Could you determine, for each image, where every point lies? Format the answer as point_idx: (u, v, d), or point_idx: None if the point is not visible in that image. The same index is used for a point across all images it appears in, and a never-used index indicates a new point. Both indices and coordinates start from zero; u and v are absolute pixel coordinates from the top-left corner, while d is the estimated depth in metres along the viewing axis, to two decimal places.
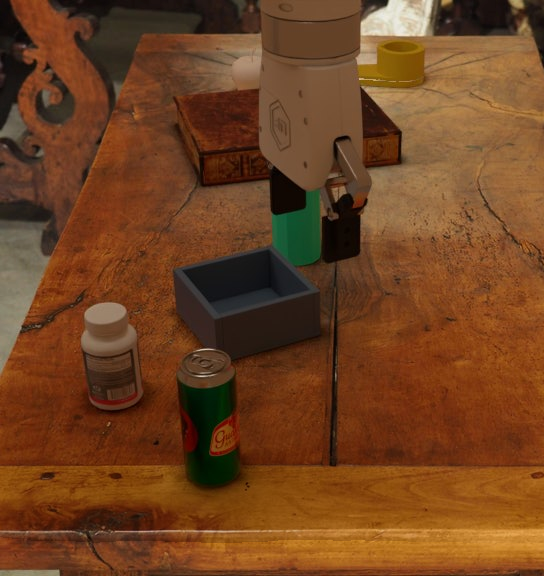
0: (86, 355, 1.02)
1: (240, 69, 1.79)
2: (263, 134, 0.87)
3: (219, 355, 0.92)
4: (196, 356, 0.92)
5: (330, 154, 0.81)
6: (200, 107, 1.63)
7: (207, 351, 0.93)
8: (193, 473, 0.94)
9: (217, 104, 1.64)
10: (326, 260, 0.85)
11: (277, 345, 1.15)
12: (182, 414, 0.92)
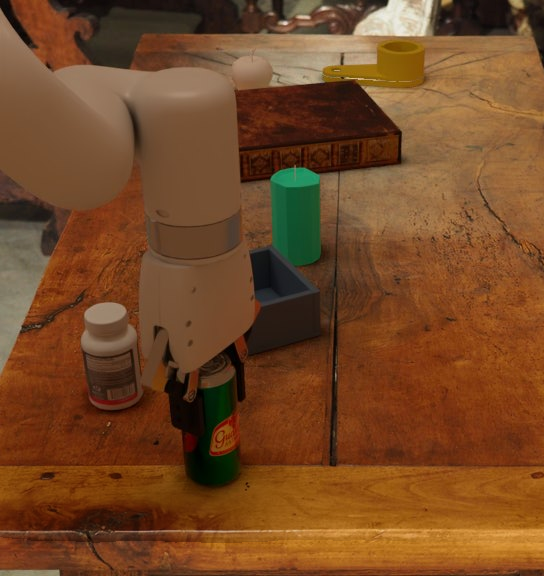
0: (86, 355, 1.02)
1: (240, 69, 1.79)
2: None
3: (219, 355, 0.92)
4: None
5: (151, 336, 0.85)
6: None
7: None
8: (193, 473, 0.94)
9: None
10: (172, 423, 0.92)
11: (277, 345, 1.15)
12: None
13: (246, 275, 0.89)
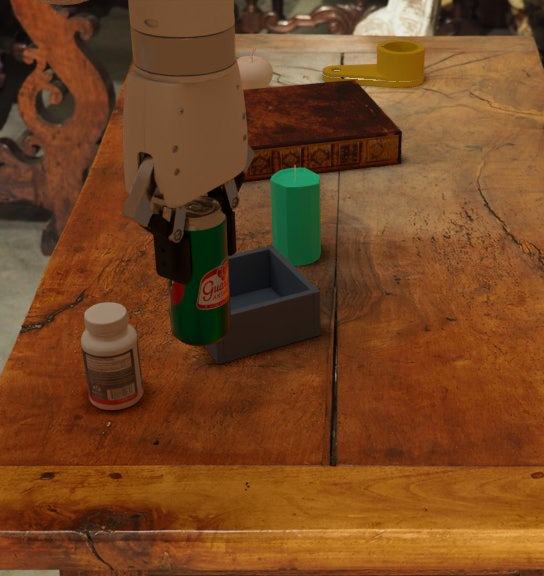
0: (86, 354, 1.02)
1: (240, 69, 1.79)
2: None
3: (209, 200, 0.86)
4: None
5: (135, 165, 0.80)
6: None
7: None
8: (179, 329, 0.89)
9: None
10: (157, 271, 0.86)
11: (277, 345, 1.15)
12: None
13: (239, 109, 0.83)
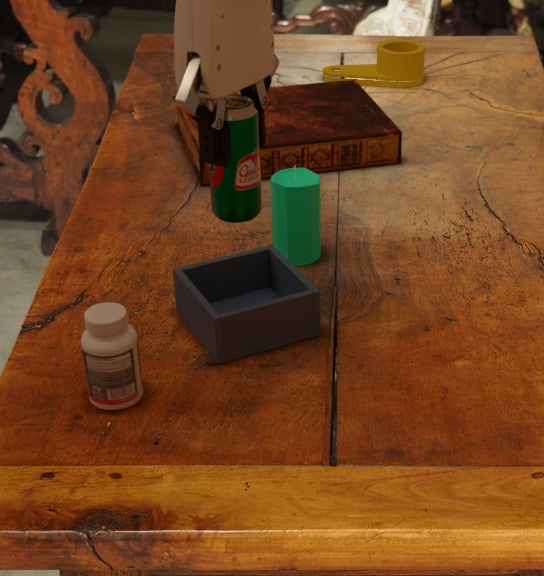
0: (86, 354, 1.02)
1: None
2: None
3: (243, 98, 1.04)
4: None
5: (184, 63, 0.97)
6: None
7: (232, 96, 1.05)
8: (219, 208, 1.06)
9: None
10: (201, 158, 1.04)
11: (277, 345, 1.15)
12: None
13: (267, 20, 1.01)
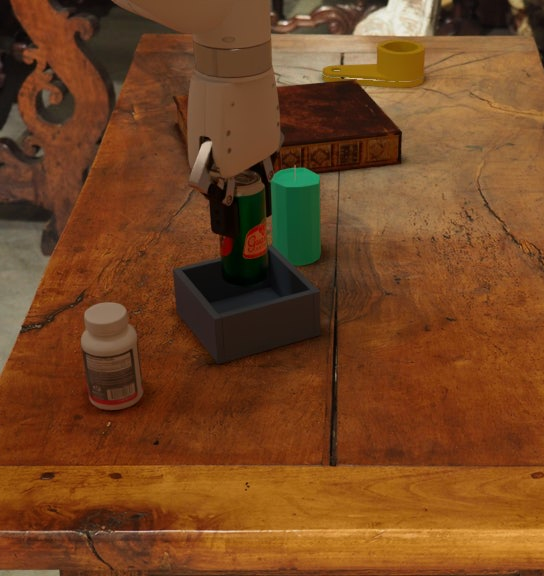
0: (86, 354, 1.02)
1: None
2: None
3: (251, 173, 1.11)
4: None
5: (197, 146, 1.04)
6: None
7: None
8: (228, 275, 1.14)
9: None
10: (212, 229, 1.11)
11: (277, 345, 1.15)
12: None
13: (274, 102, 1.08)
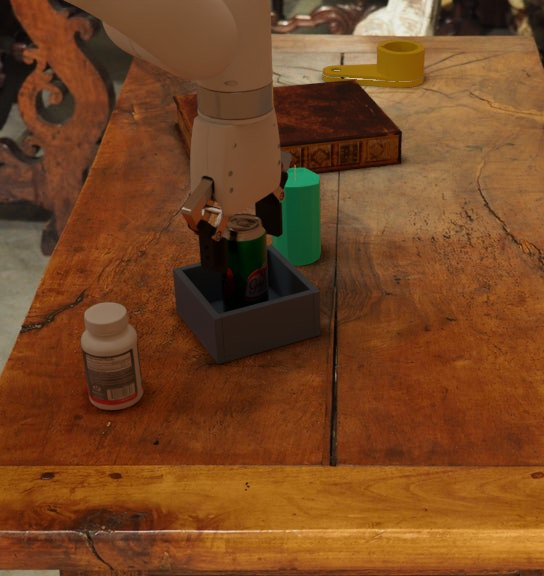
0: (86, 355, 1.02)
1: None
2: None
3: (252, 217, 1.14)
4: (234, 218, 1.14)
5: None
6: None
7: (242, 215, 1.14)
8: None
9: None
10: (201, 264, 1.11)
11: (277, 345, 1.15)
12: None
13: (275, 142, 1.10)
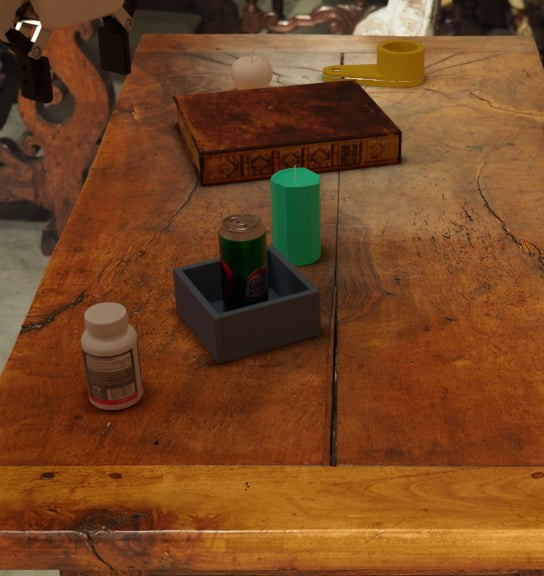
0: (86, 354, 1.02)
1: (240, 69, 1.79)
2: None
3: (252, 217, 1.14)
4: (234, 218, 1.14)
5: None
6: (200, 107, 1.63)
7: (242, 215, 1.14)
8: None
9: (217, 104, 1.64)
10: (22, 93, 0.92)
11: (277, 345, 1.15)
12: (222, 265, 1.14)
13: None
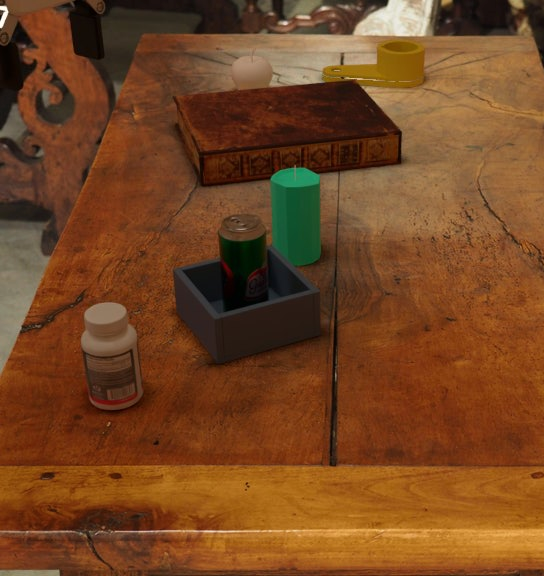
0: (86, 355, 1.02)
1: (240, 69, 1.79)
2: None
3: (252, 217, 1.14)
4: (234, 218, 1.14)
5: None
6: (200, 107, 1.63)
7: (242, 215, 1.14)
8: None
9: (217, 104, 1.64)
10: None
11: (277, 345, 1.15)
12: (222, 265, 1.14)
13: None
